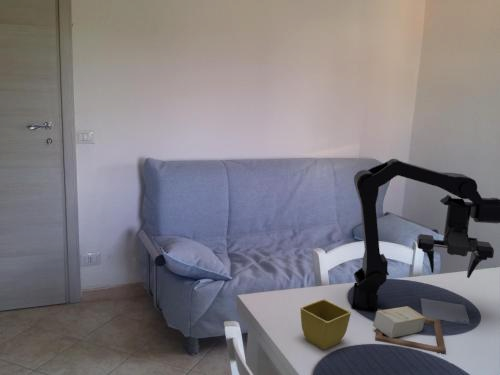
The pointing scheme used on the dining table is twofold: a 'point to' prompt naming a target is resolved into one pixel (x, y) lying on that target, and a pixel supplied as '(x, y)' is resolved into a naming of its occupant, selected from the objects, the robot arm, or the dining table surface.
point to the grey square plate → (443, 310)
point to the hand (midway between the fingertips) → (449, 274)
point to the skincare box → (398, 321)
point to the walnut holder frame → (439, 339)
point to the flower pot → (324, 323)
